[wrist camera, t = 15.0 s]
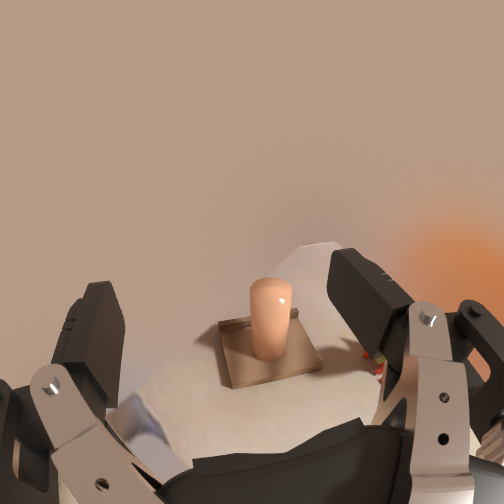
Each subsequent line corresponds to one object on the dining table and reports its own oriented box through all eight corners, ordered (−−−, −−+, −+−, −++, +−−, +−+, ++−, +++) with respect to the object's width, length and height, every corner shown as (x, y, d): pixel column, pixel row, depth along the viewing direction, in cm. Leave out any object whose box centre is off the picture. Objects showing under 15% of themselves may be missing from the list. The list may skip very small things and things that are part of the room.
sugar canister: (255, 364, 39) (255, 306, 33) (248, 339, 44) (246, 280, 38) (290, 357, 40) (297, 299, 34) (280, 333, 45) (284, 275, 39)
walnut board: (232, 389, 37) (230, 378, 36) (219, 333, 47) (218, 321, 46) (320, 368, 40) (323, 357, 38) (295, 319, 50) (296, 307, 48)
